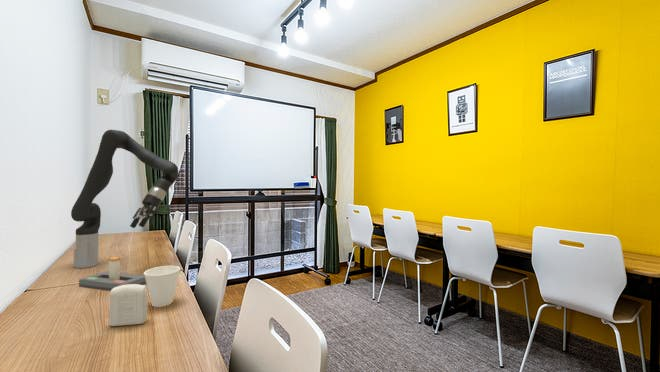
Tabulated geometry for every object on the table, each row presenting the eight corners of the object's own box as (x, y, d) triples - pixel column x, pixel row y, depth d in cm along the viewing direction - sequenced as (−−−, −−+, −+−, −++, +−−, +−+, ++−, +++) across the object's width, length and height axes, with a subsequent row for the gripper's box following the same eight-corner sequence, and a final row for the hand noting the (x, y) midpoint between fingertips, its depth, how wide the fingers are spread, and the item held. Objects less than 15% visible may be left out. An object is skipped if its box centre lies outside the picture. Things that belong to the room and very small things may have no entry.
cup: (160, 312, 101) (160, 276, 100) (135, 307, 104) (135, 273, 104) (187, 299, 112) (187, 267, 112) (164, 295, 116) (164, 264, 115)
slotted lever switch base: (79, 286, 125) (79, 278, 124) (106, 277, 136) (106, 270, 136) (123, 292, 118) (123, 284, 118) (148, 282, 130) (148, 275, 130)
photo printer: (149, 318, 96) (149, 281, 96) (144, 324, 92) (144, 285, 92) (114, 321, 94) (113, 283, 94) (107, 328, 90) (106, 288, 90)
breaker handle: (108, 281, 126) (108, 258, 126) (114, 280, 129) (114, 257, 129) (114, 282, 126) (114, 259, 125) (119, 280, 128) (119, 257, 128)
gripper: (140, 195, 147) (121, 224, 138) (155, 192, 139) (136, 222, 131) (154, 202, 152) (136, 231, 143) (168, 200, 144) (151, 229, 136)
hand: (136, 226), depth 137 cm, fingers open, 8 cm apart
